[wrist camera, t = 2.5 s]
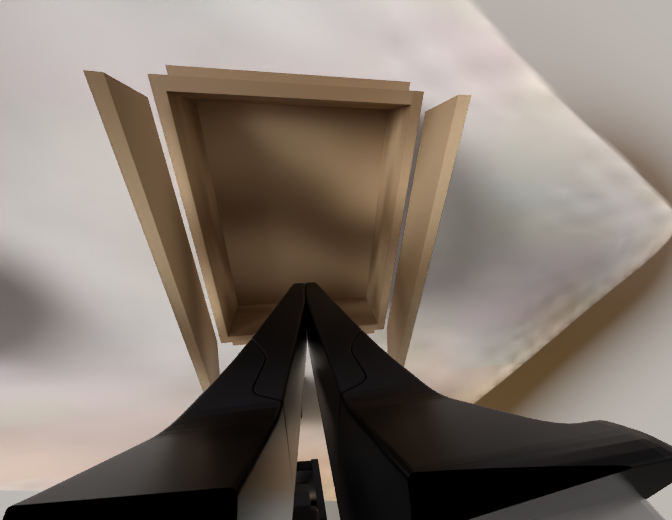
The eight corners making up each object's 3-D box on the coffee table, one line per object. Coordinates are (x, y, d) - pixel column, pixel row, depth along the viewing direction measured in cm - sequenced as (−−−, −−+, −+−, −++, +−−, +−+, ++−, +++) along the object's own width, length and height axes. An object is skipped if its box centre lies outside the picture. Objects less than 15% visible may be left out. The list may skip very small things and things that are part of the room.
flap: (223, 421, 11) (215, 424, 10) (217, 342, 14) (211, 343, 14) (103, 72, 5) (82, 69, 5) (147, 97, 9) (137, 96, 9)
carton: (371, 301, 20) (384, 331, 17) (234, 311, 19) (222, 346, 16) (397, 94, 13) (427, 83, 10) (184, 81, 12) (144, 63, 9)
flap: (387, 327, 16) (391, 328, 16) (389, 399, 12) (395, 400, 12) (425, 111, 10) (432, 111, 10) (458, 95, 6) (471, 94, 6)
